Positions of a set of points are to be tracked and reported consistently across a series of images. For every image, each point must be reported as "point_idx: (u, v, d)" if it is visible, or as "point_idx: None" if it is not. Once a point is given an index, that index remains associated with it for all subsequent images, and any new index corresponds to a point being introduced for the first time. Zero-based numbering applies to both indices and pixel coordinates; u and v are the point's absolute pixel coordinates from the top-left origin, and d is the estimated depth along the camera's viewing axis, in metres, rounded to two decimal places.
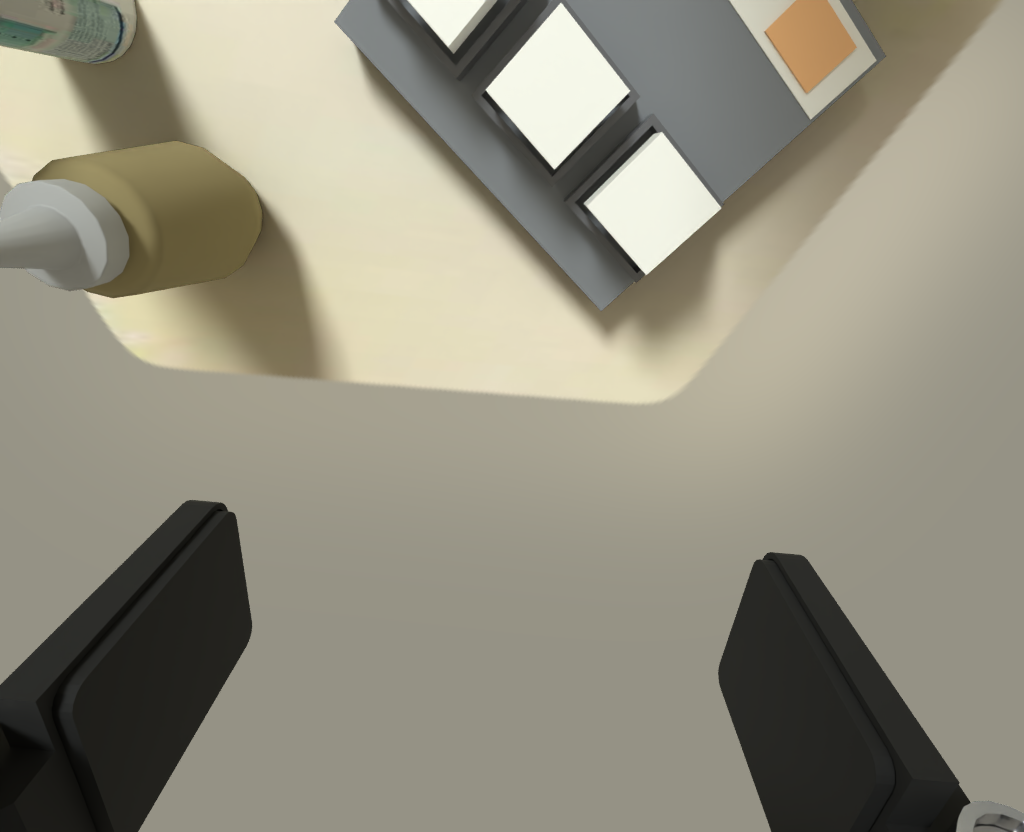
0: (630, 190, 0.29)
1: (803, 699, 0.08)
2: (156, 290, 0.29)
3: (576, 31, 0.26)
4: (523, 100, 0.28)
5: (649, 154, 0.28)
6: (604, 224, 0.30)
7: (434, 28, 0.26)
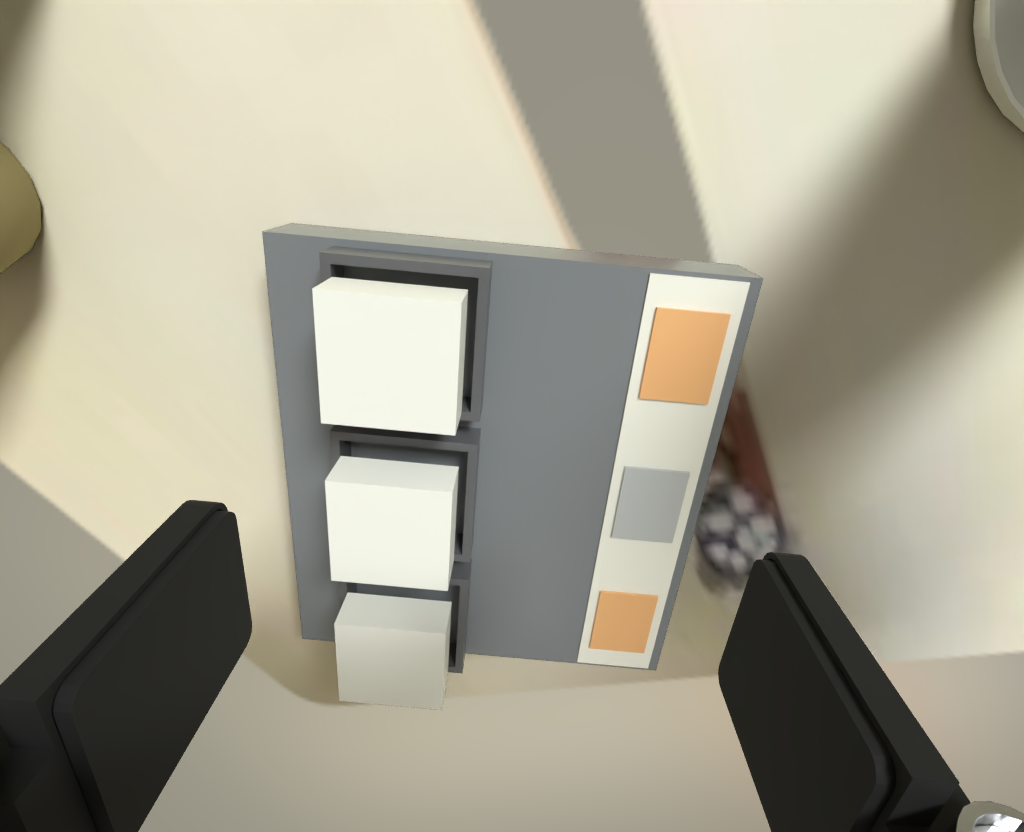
0: (382, 644, 0.25)
1: (803, 699, 0.08)
2: None
3: (445, 520, 0.22)
4: (351, 517, 0.22)
5: (421, 637, 0.25)
6: (337, 646, 0.26)
7: (321, 399, 0.20)
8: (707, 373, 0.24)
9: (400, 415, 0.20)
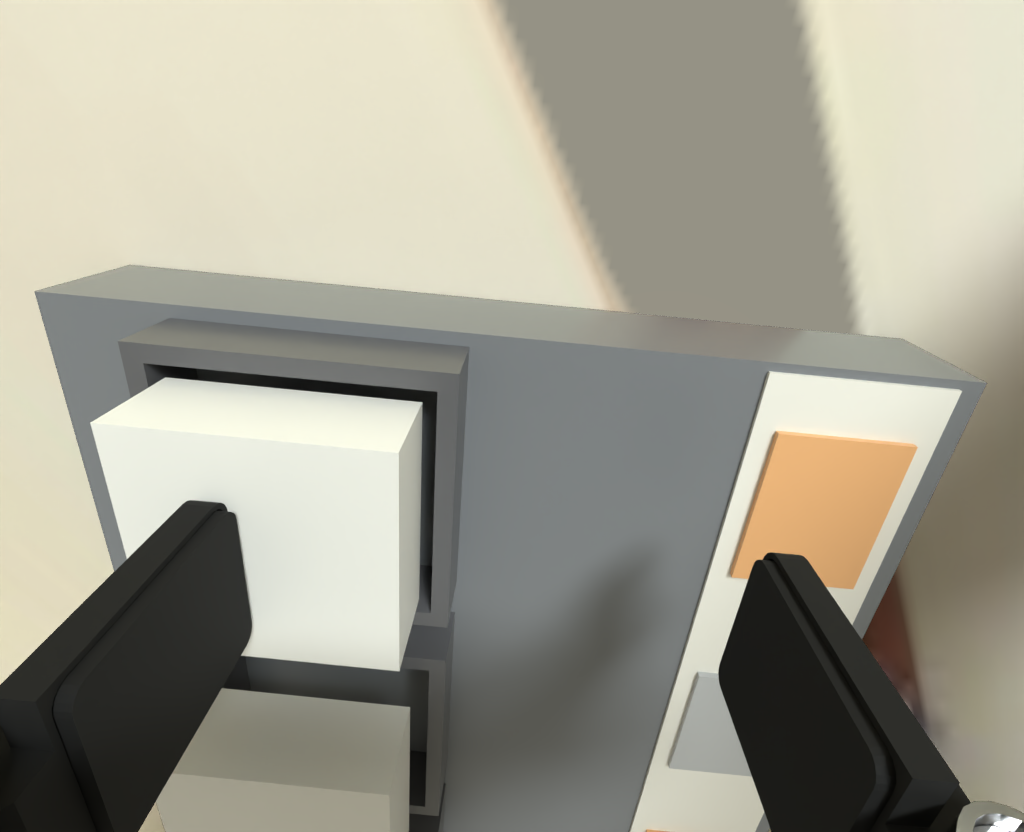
0: None
1: (803, 699, 0.08)
2: None
3: None
4: (206, 822, 0.12)
5: None
6: None
7: None
8: (860, 541, 0.13)
9: (296, 638, 0.11)
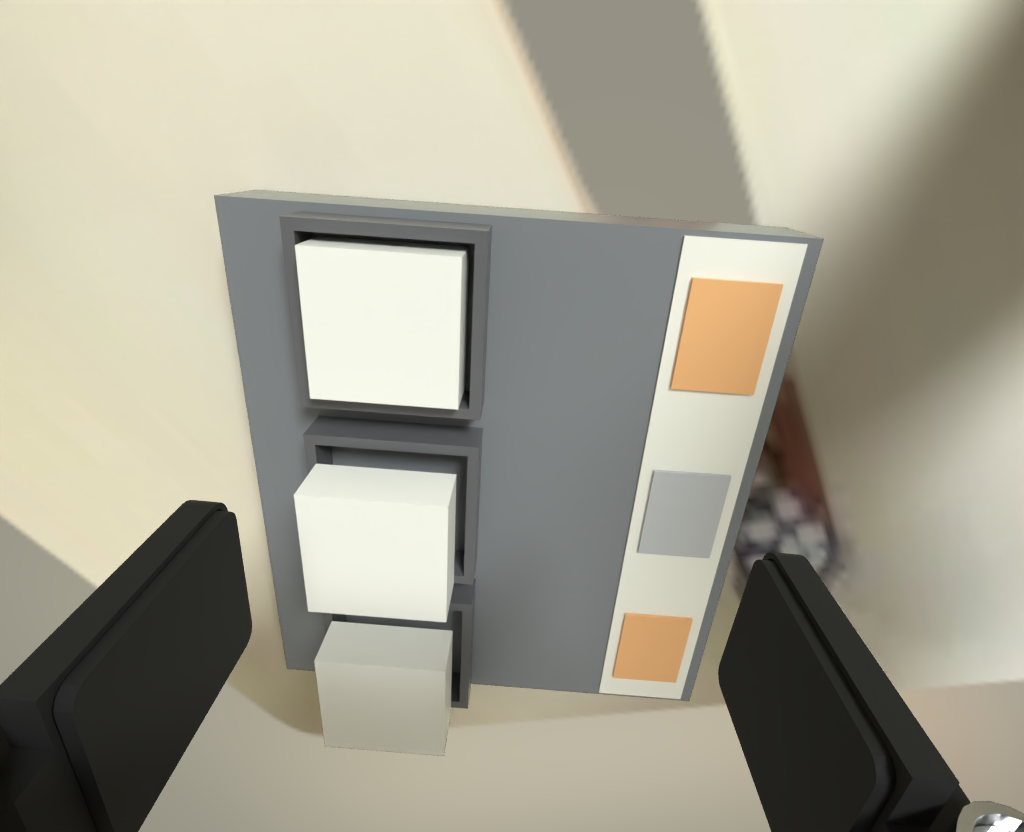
0: (371, 683, 0.22)
1: (803, 699, 0.08)
2: None
3: (440, 539, 0.19)
4: (328, 537, 0.19)
5: (417, 675, 0.21)
6: (319, 685, 0.22)
7: (309, 372, 0.18)
8: (754, 357, 0.20)
9: (397, 387, 0.18)
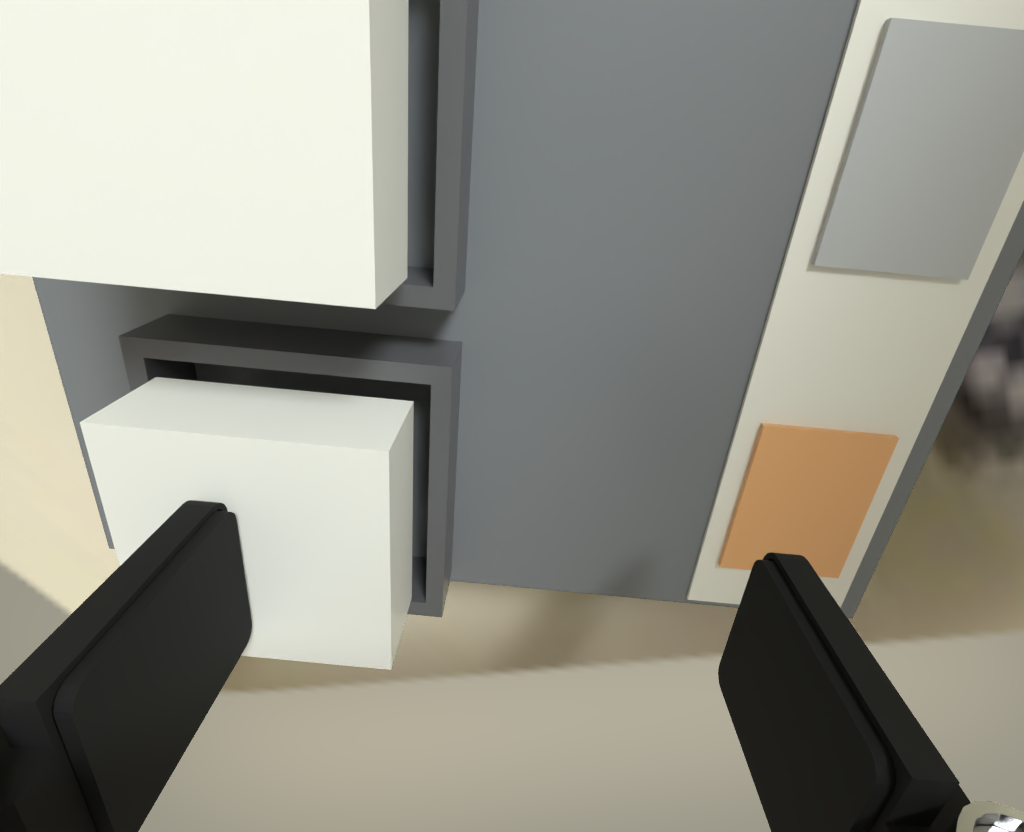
0: (221, 487, 0.09)
1: (803, 699, 0.08)
2: None
3: None
4: None
5: (323, 463, 0.09)
6: (103, 493, 0.10)
7: None
8: None
9: None
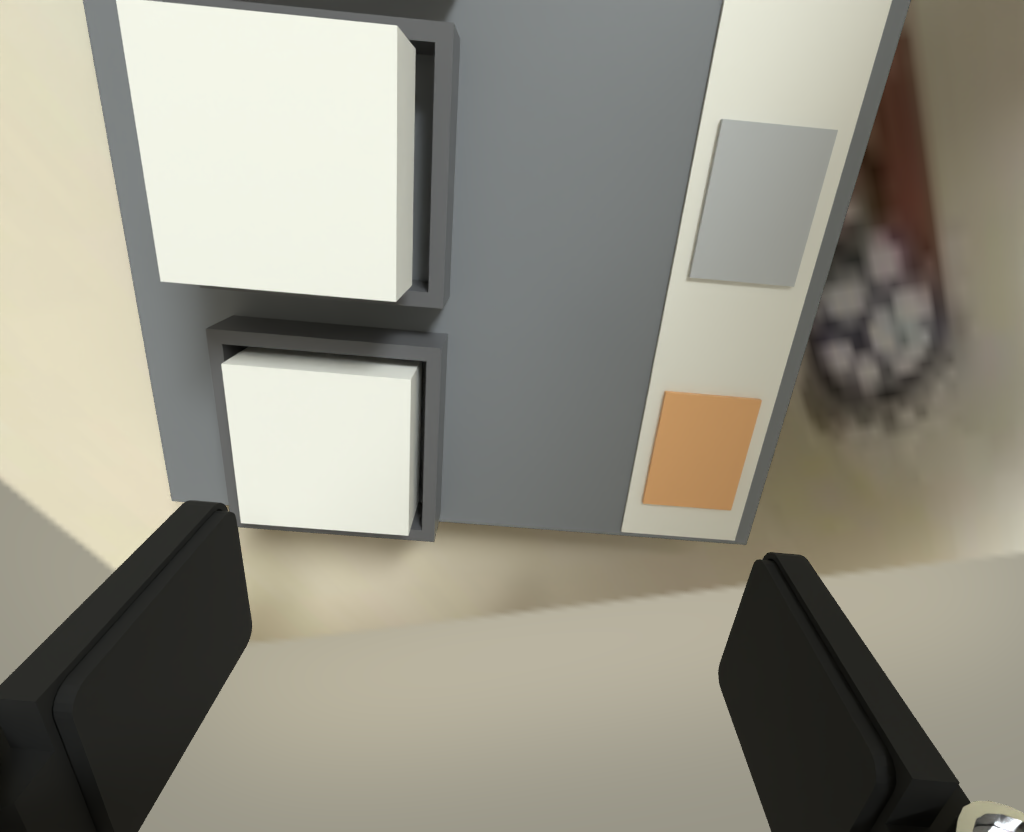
0: (305, 405, 0.15)
1: (803, 699, 0.08)
2: None
3: (384, 108, 0.11)
4: (185, 106, 0.11)
5: (370, 388, 0.15)
6: (229, 411, 0.15)
7: None
8: None
9: None
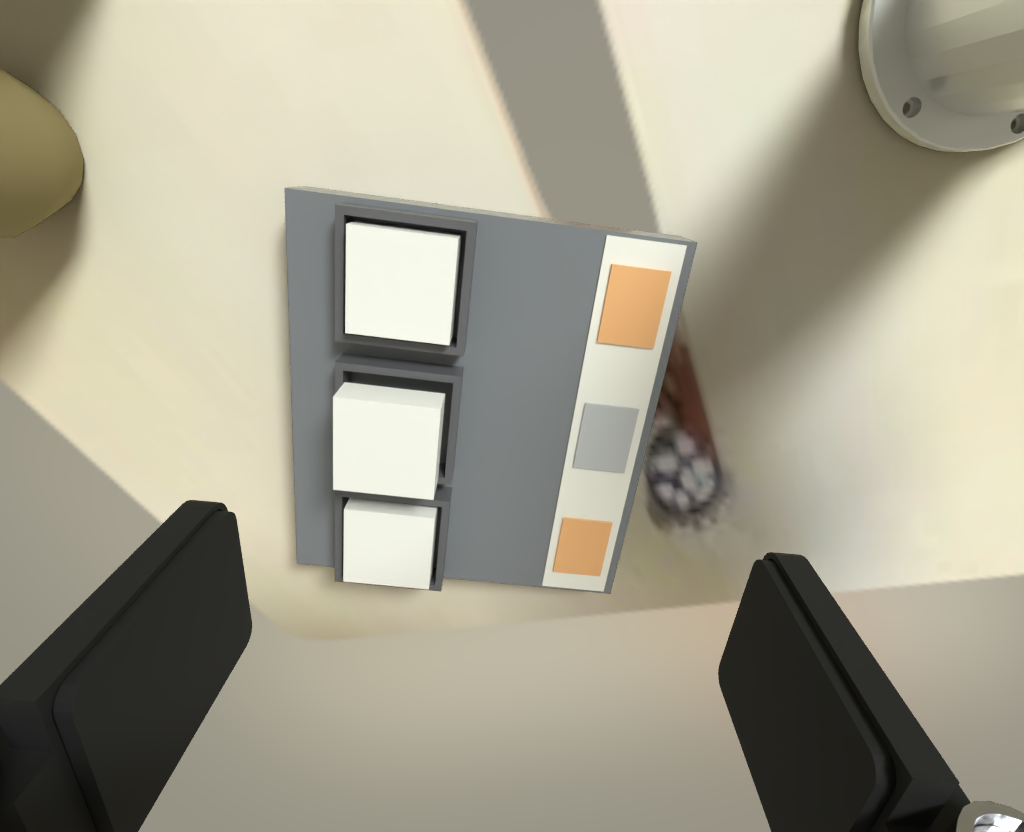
0: (382, 528, 0.31)
1: (803, 699, 0.08)
2: None
3: (433, 434, 0.27)
4: (354, 430, 0.27)
5: (414, 521, 0.31)
6: (345, 529, 0.31)
7: (346, 313, 0.26)
8: (653, 321, 0.29)
9: (408, 327, 0.27)
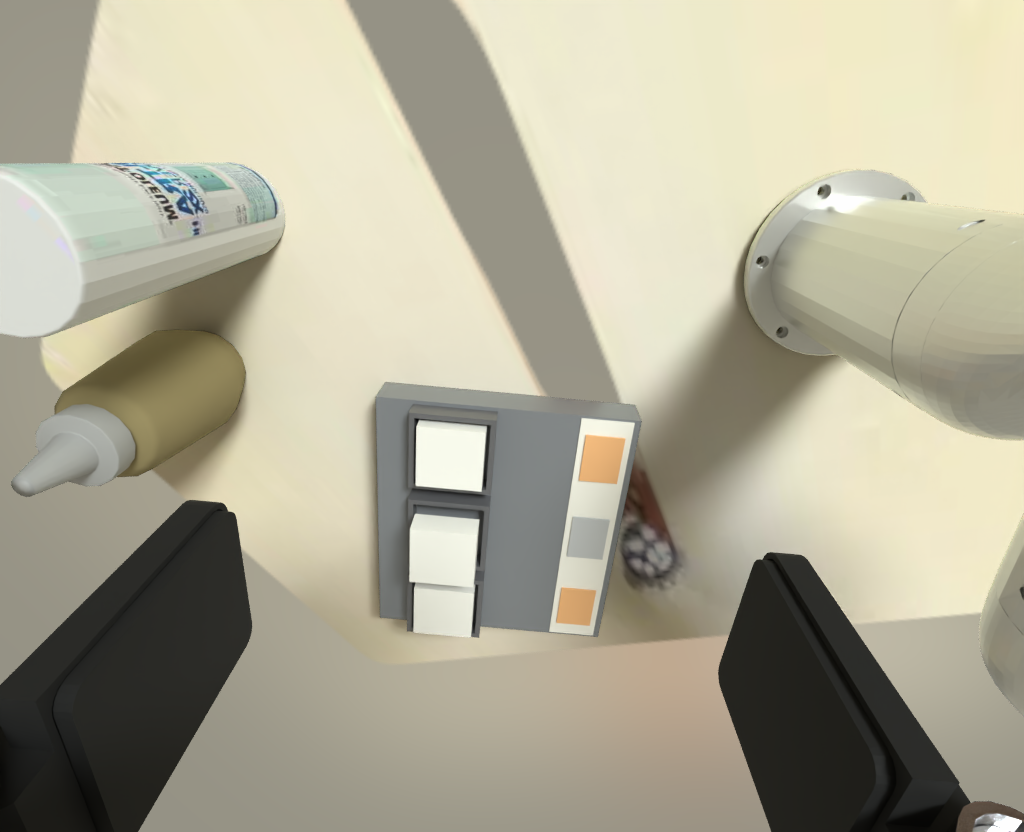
0: (439, 599, 0.47)
1: (803, 699, 0.08)
2: None
3: (472, 549, 0.42)
4: (422, 548, 0.42)
5: (460, 595, 0.47)
6: (414, 600, 0.47)
7: (416, 475, 0.42)
8: (615, 468, 0.43)
9: (455, 482, 0.42)
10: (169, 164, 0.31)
